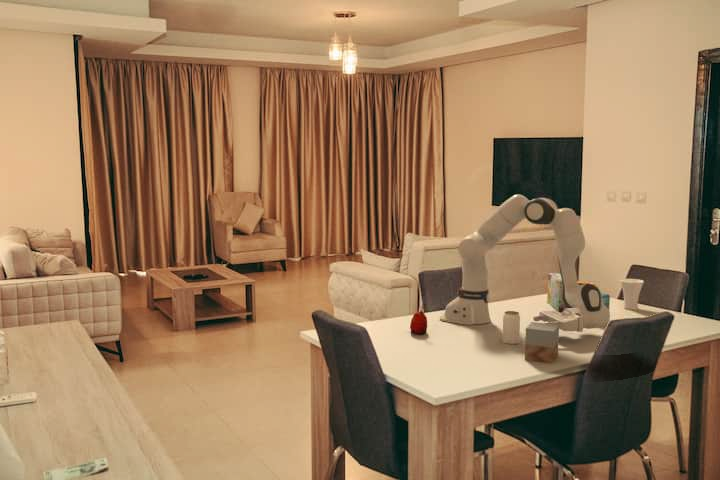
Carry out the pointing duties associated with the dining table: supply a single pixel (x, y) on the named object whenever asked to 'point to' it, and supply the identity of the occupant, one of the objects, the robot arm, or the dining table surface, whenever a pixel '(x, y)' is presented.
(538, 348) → the tower base
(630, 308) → the cup
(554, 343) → the tower top
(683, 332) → the dining table surface
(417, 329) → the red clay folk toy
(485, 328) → the dining table surface
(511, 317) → the can
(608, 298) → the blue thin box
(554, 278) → the snack box
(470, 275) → the robot arm
